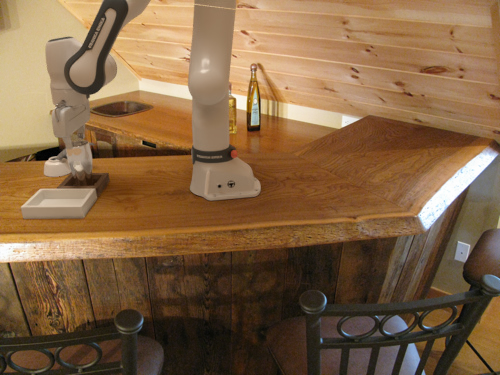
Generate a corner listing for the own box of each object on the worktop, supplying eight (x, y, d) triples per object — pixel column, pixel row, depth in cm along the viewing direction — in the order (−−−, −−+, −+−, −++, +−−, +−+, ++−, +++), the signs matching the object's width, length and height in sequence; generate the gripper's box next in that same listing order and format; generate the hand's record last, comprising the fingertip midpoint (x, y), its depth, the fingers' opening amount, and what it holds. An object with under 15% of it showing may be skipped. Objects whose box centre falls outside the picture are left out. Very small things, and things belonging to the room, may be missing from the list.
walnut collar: (109, 181, 133) (108, 172, 131) (98, 196, 122) (97, 187, 121) (72, 181, 132) (71, 172, 131) (58, 197, 121) (56, 188, 120)
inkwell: (43, 169, 141) (37, 142, 137) (97, 162, 149) (93, 136, 145) (43, 179, 134) (37, 150, 130) (100, 170, 141) (96, 143, 137)
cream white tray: (97, 199, 120) (95, 188, 119) (83, 218, 109) (81, 206, 108) (42, 199, 120) (40, 188, 118) (23, 218, 109) (20, 207, 107)
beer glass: (89, 182, 131) (81, 138, 125) (101, 188, 127) (94, 142, 121) (68, 189, 127) (60, 143, 120) (80, 195, 123) (72, 148, 116)
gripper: (66, 105, 106) (74, 155, 112) (91, 90, 125) (97, 134, 130) (42, 105, 106) (50, 154, 111) (70, 90, 124) (77, 133, 130)
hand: (76, 143), depth 121 cm, fingers open, 8 cm apart
